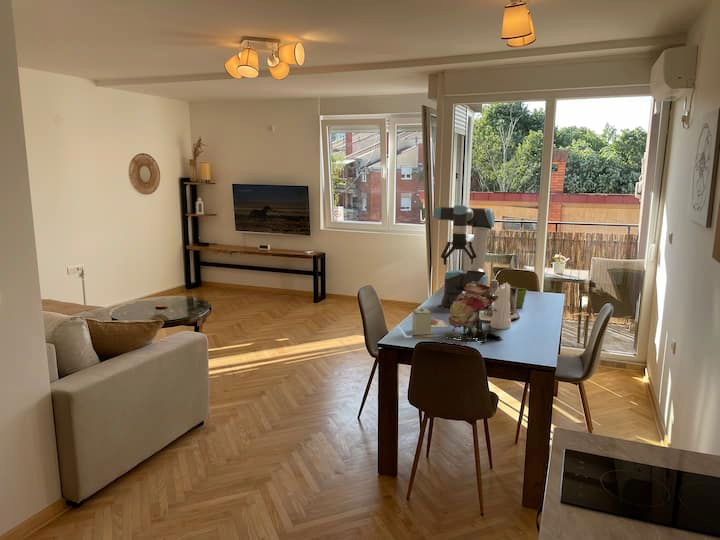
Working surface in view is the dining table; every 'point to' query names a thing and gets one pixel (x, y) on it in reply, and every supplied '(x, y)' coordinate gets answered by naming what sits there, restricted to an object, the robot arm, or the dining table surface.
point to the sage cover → (421, 321)
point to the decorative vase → (502, 308)
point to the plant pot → (520, 297)
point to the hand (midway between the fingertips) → (457, 270)
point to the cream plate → (441, 324)
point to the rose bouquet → (471, 312)
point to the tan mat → (423, 336)
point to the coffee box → (513, 298)
